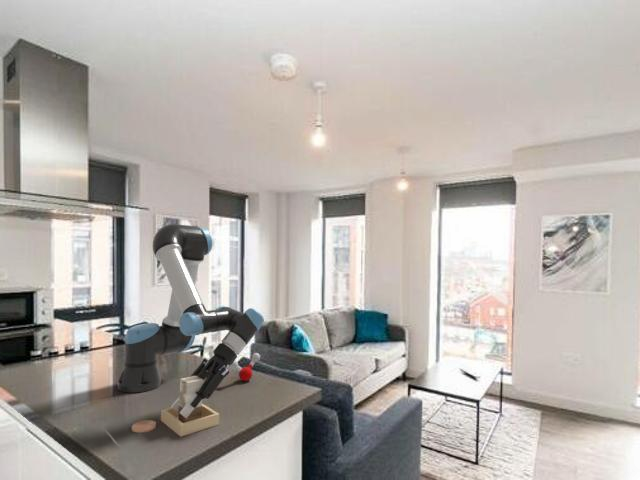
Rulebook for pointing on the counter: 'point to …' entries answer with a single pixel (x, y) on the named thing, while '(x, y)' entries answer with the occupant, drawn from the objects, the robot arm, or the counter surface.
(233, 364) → the molecular model
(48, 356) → the counter surface
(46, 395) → the counter surface
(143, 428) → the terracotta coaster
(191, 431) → the beige open tray
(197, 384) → the two-tone block
